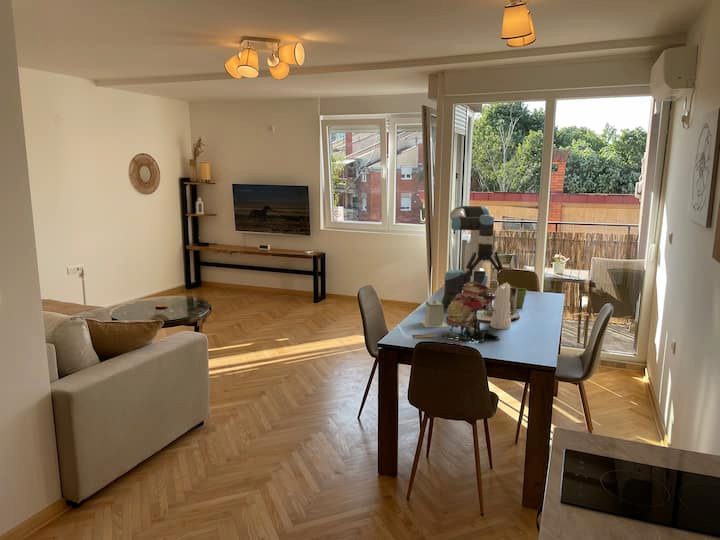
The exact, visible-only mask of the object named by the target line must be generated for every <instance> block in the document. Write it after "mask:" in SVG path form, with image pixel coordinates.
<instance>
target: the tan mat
mask: <svg viewBox="0 0 720 540" xmlns="http://www.w3.org/2000/svg"><path fill="white" fill-rule="evenodd" d="M412 337H413V338H414V339H415V340H416V339H435V338H436V336H435V335H434V334H413V335H412Z"/></svg>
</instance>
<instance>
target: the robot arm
mask: <svg viewBox="0 0 720 540" xmlns="http://www.w3.org/2000/svg"><path fill="white" fill-rule="evenodd" d="M449 218H450V223H451V226H450V227H451V230H452V231H470V237H469V238H470V239H469V240H470V241H469V242H470V243H469V261H468V263H467V264H466V266H465V268H466V272H465V271H464V270H463V269H452V270H447V271H446V272H445V274H444V289H443V290H444V293H443V296H442V299H441V301H440V302H441V303H442V304H444V306H443V308H447V309H448V306H449V305H450V304H451V302H450V301H452V300H453V299H454V298H455V297H456V295H457V294H460V293H463V292H464V291H463V290H462V287H465V286H464V284H466V283H469V282H470V281H473V282H476V283H479V284H481V285H484V286H486V287H487V283H488V276H489V275H488V273H487V272H486V270H485V268H484V261H489V262H490V263H491V265H492V266H493V267H494V269H493V281H494V282H498V275H499V273H500V269H503V265H502V263H501V260H500V258H499V254H498V251H493V241H494V224H495V216H494V215H492V214H490V210H489V208H488V206H486V205H485V206H484V205H483V206H482V205H462V206H458V207H456V208H453V209H452V210H451V212H450V215H449ZM492 257H493V258H492Z"/></svg>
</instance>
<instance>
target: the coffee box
mask: <svg viewBox="0 0 720 540" xmlns="http://www.w3.org/2000/svg"><path fill="white" fill-rule="evenodd" d="M517 291H518V286H513V285H510V312H511V313H514V312H515V313H516V312H517V308H516V304H517ZM511 313H510V314H511ZM515 313H514V314H515Z"/></svg>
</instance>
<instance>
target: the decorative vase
mask: <svg viewBox="0 0 720 540" xmlns="http://www.w3.org/2000/svg"><path fill="white" fill-rule="evenodd" d="M510 286H511V284H510V283H508V281H507V282H504V283H502V284H500V285H499V287H497V288H496V290H494V291H495V292H494V296H496V298H495V299H494V300H493V305H492V309H494V310H496V311H492V316H491V318H490V327H491V328H493V329H498V330H509V329H510V328H511V324H512V319H511V313H510ZM505 313H506V314H505Z"/></svg>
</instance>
